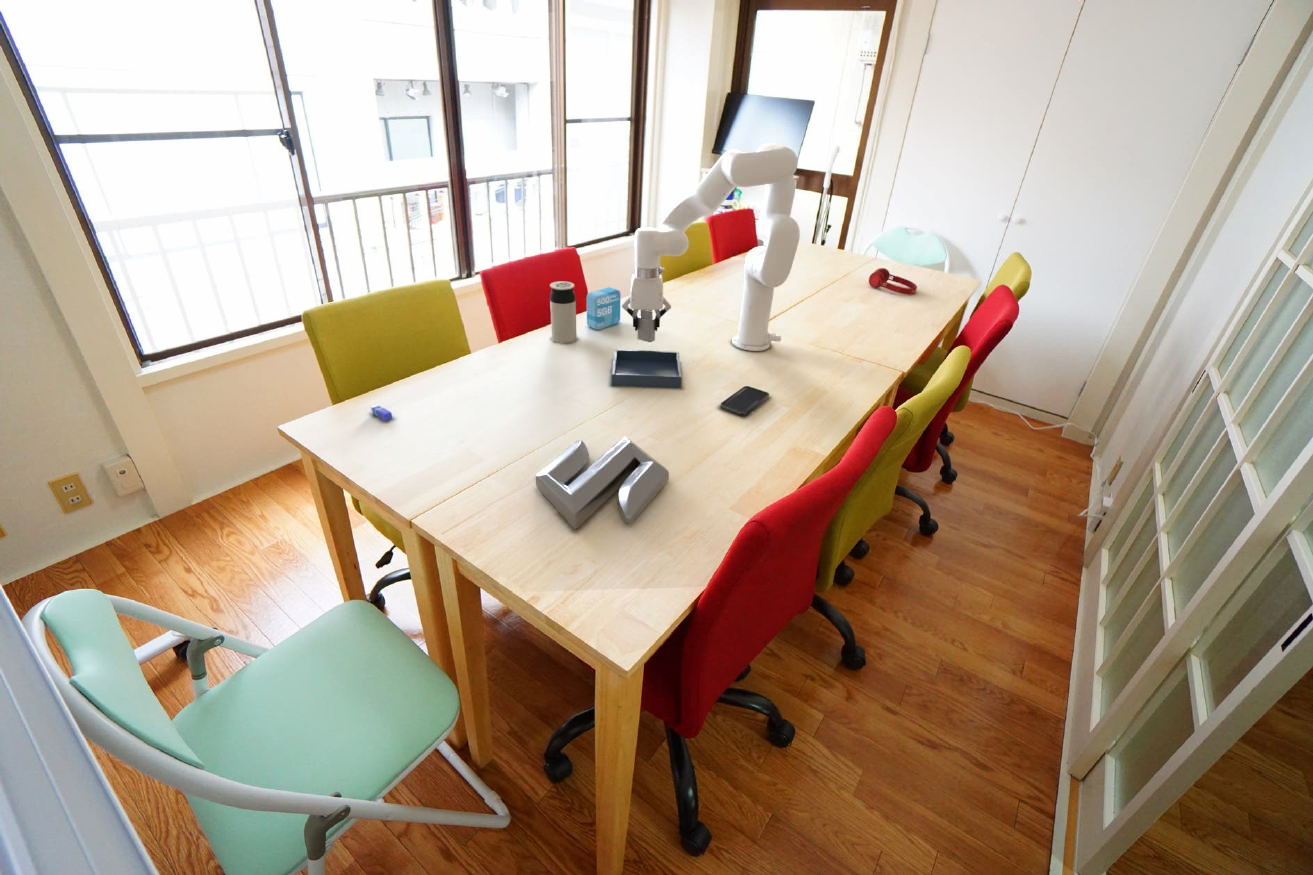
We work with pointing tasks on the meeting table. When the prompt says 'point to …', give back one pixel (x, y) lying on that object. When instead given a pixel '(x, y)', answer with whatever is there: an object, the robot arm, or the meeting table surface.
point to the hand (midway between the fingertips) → (646, 328)
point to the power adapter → (646, 326)
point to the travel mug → (563, 312)
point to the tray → (646, 369)
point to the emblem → (601, 481)
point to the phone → (744, 401)
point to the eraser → (381, 412)
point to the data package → (603, 308)
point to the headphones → (883, 276)
